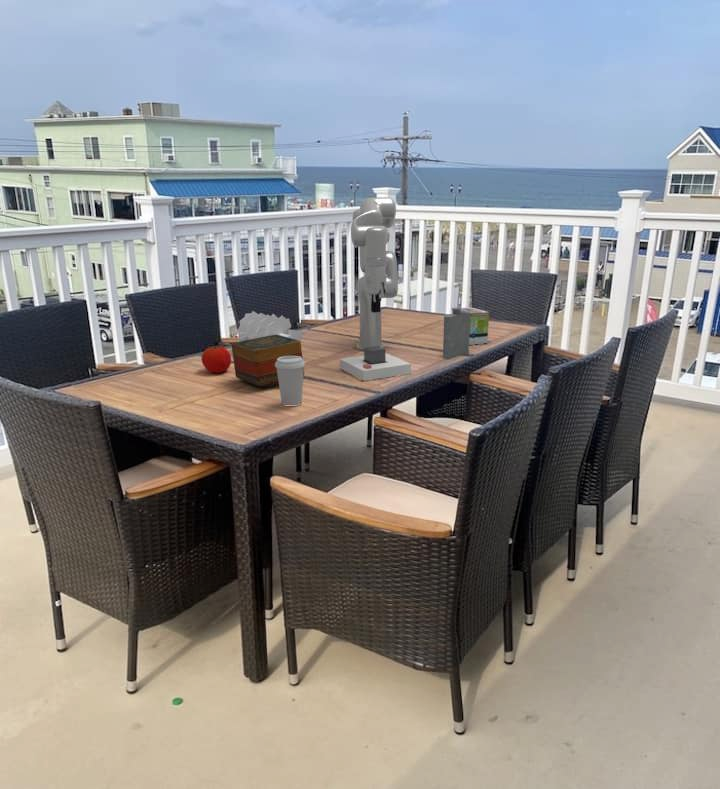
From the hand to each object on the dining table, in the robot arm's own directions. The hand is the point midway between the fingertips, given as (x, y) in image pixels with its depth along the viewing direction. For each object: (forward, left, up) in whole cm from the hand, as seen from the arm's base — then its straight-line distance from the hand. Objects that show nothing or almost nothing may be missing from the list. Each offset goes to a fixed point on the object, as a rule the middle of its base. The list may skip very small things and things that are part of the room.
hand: (375, 311), depth 229 cm
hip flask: (-3, +39, -23) cm, 46 cm away
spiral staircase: (-43, -28, -23) cm, 56 cm away
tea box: (-21, +61, -23) cm, 68 cm away
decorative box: (-4, -42, -23) cm, 48 cm away
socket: (+3, -2, -22) cm, 23 cm away
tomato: (-27, -55, -23) cm, 65 cm away
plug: (+3, -2, -21) cm, 22 cm away
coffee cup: (+24, -44, -23) cm, 55 cm away
